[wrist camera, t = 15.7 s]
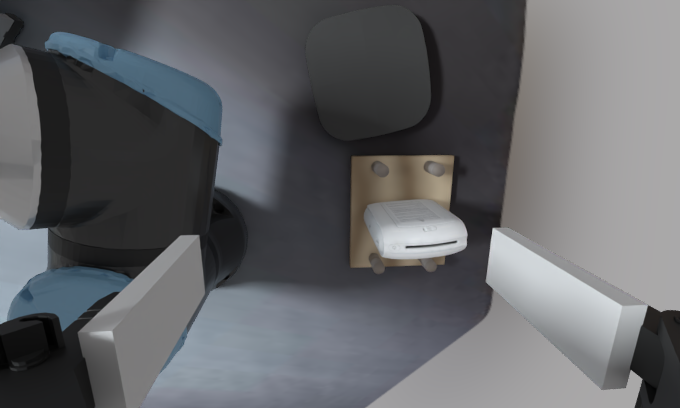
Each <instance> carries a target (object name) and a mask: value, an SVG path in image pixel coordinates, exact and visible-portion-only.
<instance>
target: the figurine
mask: <svg viewBox="0 0 680 408" xmlns="http://www.w3.org/2000/svg"><path fill="white" fill-rule="evenodd" d="M23 23H24V22H23V21H22V20H21V19H19V18H18V17H17V16H15V15H14V14H8V13H5V14H1V13H0V49H1V48H3V47H5V46H7V45H9V44H13V43H14V39H15V37H16V35H17V34H19V33H20V28H23V26H24V25H23Z"/></svg>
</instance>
